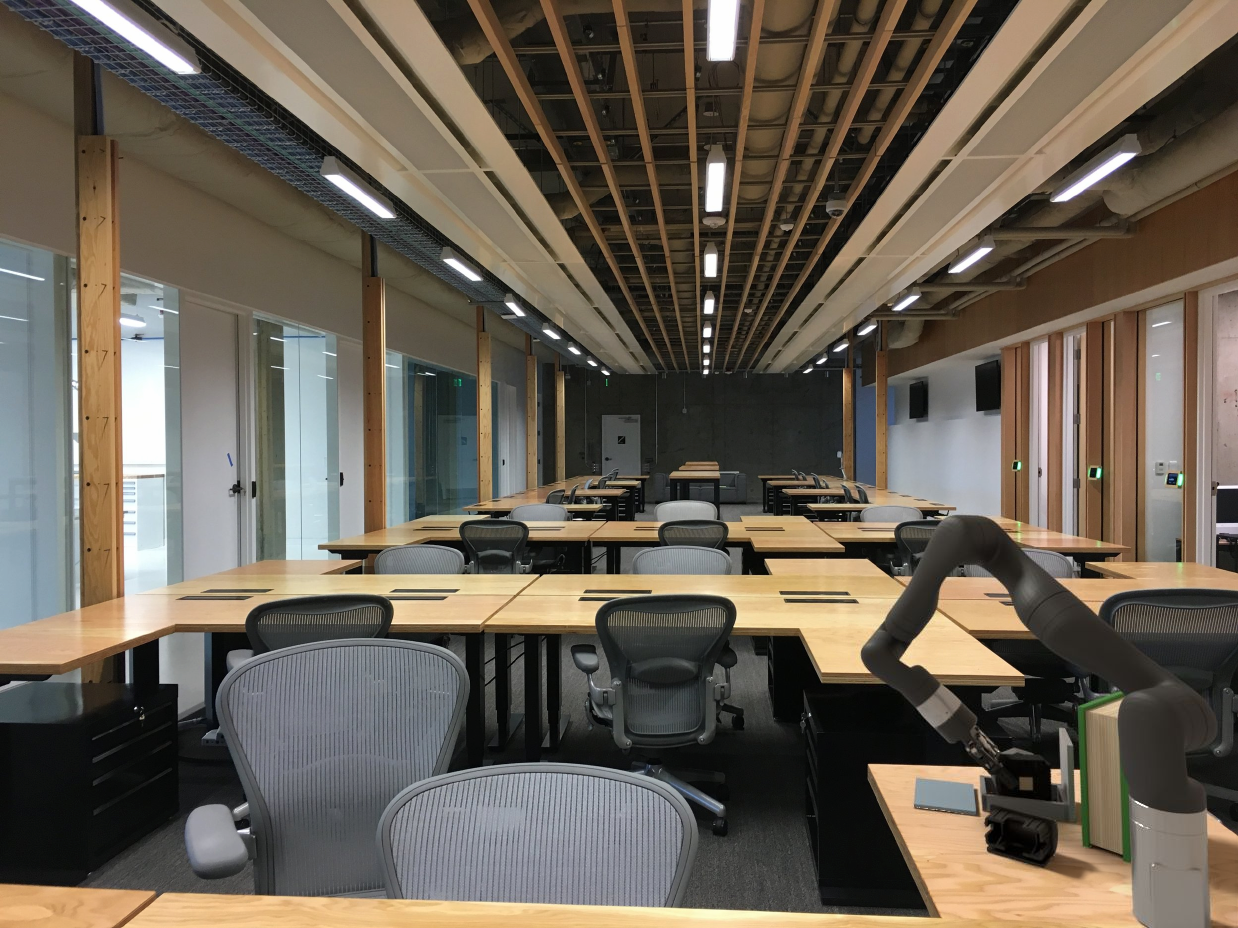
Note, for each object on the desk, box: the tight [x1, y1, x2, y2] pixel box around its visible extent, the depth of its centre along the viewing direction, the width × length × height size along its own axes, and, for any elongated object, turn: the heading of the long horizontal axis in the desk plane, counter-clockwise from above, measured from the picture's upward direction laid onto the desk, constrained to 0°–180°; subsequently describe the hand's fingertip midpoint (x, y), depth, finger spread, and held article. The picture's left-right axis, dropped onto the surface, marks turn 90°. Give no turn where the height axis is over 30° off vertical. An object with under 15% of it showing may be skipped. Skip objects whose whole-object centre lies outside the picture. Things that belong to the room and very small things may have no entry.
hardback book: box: [1077, 690, 1131, 864], centre depth 139 cm, size 18×7×24 cm, turn 124°
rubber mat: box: [913, 777, 977, 816], centre depth 159 cm, size 14×11×1 cm
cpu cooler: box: [988, 747, 1053, 802], centre depth 155 cm, size 10×6×10 cm, turn 81°
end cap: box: [983, 804, 1059, 869], centre depth 136 cm, size 10×7×7 cm
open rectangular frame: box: [979, 727, 1077, 823], centre depth 154 cm, size 11×16×14 cm
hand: (1013, 779), depth 155 cm, fingers closed on cpu cooler, 6 cm apart
